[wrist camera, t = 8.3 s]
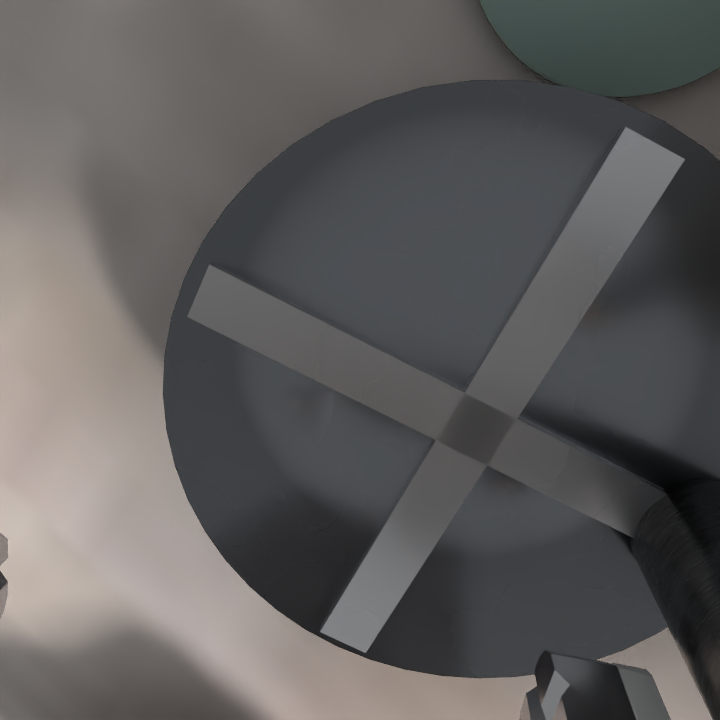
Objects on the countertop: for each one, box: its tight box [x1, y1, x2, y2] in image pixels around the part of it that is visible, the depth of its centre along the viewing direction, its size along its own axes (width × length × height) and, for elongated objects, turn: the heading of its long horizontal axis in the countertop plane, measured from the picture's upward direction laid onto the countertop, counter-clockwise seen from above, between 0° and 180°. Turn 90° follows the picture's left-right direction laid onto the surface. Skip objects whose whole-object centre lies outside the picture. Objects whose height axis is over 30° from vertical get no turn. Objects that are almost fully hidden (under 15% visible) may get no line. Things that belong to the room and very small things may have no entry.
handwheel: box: [163, 80, 720, 720], centre depth 9 cm, size 10×10×6 cm
